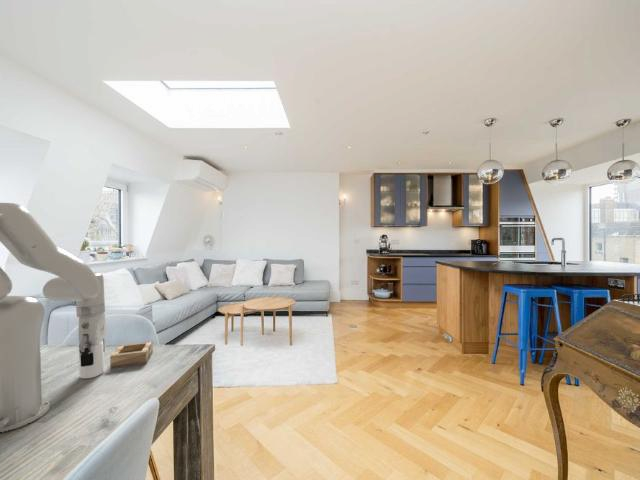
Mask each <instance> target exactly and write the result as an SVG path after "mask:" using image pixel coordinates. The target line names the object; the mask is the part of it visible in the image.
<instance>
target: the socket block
mask: <svg viewBox="0 0 640 480" xmlns="http://www.w3.org/2000/svg"><path fill="white" fill-rule="evenodd" d="M153 353H154V351H153V341H144V342H143V341H142V342H136V343H135V342H134V343H127V344H121V345H119V346H118V347H117V348H116V349H115V350H114V351H113V353H111V355H110V356H109V357H110V359H109V360H110V362H109V363H110V370H114V369H120V368H128V367H134V366H141V365H147V363H148V361H149V360H150V358H151V356H152V355H153Z"/></svg>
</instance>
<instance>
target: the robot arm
mask: <svg viewBox="0 0 640 480" xmlns="http://www.w3.org/2000/svg"><path fill="white" fill-rule="evenodd" d="M0 243H1V244H2V245H3V246H4V247H5V248H6V249H7V251H8V252H10V253H11V255H12V256H13V257H14V258H15V259H16V260H17V262H19V263H20V264H21V265H24V266H25V267H29V268H31V269H34V270H38V271H42V272H45V273H48V274H52V275H55V276H57V277H53V278H51V279H50V280H48V281H46V283H44V286H43V287H42V294H43V296H44V297H45V299H47V300H49V301H54V302H75V308H76V309H75V311H76V317H77V318H78V343H79V344H78V352H79V351H80V357H81V367H84V366H90V365H93V364H94V361H93V353H92V348H93V345H98V344H99V343H100V342H101V341H103V347H104V353H105V338H106V337H107V336H108V335H107V334H108V332H107V323H106V322H107V321H106V316H105V313H106V303H105V283H104V275H103V274H102V273H100V272H94V271H93V270H92V269H91V267H90V266H89V265H88V264H86V263H85V262H84V261H83V260H81V259H80V258H78V257H76V256H75V255H73V254H72V253H69V252H68V251H66V250H64V249H62V248H60V247H59V246H58V245H56V243H55V242H54V240H52V238H51V237H50V236H49V235H48V234H47V232H46V231H45V230H44V228H43V227H42V226H41V224H40V223H39V222H38V221H37V220H36V218H35V217H34V215H33V214H32V213H31V212H30V211H29V210H28V209H27V208H26V207H25V206H23V205H22V204H19V203H12V202H0ZM12 288H13V283H12V279H11V278H10V277H9V275H8V274H7V273H6V271H5V270H3V268H2V267H1V266H0V432H2V433H5V432H4V431H6V432H9V431H8V430H10V431H13V430H15V429H19V428H22V427H24V426H26V425H28V423H29V424H31V423H33V422H34V421H36V420H39V419H40V418H42V417H43V416H44V415H46V413H48V411H49V410H50V408H51V403H50V401H49V400H46V399H43V395H42V393H43V392H42V391H43V390H42V389H43V388H42V359H41V358H42V357H41V356H42V355H41V354H42V353H41V337H42V335H41V334H42V328H43V323H44V319H45V314H46V312H45V311H46V309H45V306H44V305H43V303H42V302H41V301H40V300H38V299H37V298H34V297H30V296H26V295H9V294H10V293H11V292H12ZM88 342H90V343H91V344H86V343H88ZM86 347H89V349H88V348H86ZM79 349H80V350H79ZM12 429H13V430H12Z"/></svg>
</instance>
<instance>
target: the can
mask: <svg viewBox="0 0 640 480" xmlns="http://www.w3.org/2000/svg"><path fill="white" fill-rule="evenodd" d="M86 344H91V343H90V342H88V343H86ZM86 348H88V349H89V347H86ZM104 349H105V346H104V347H103V341H101V342H100V343H99V344H98V345H93V348H92V353H93V361H94V364H93V365H90V366H84V367H81V357H80V351H79V350H80V349H79V348H78V362H79V364H78V365H79V366H78V367H79V369H78V370H79V378H80V379H82V380H88V379H94V378H96V377H99V376H101V375H103V373H104V371H105V359H104V358H105V357H104V356H105V355H104V353H105V352H104Z"/></svg>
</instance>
